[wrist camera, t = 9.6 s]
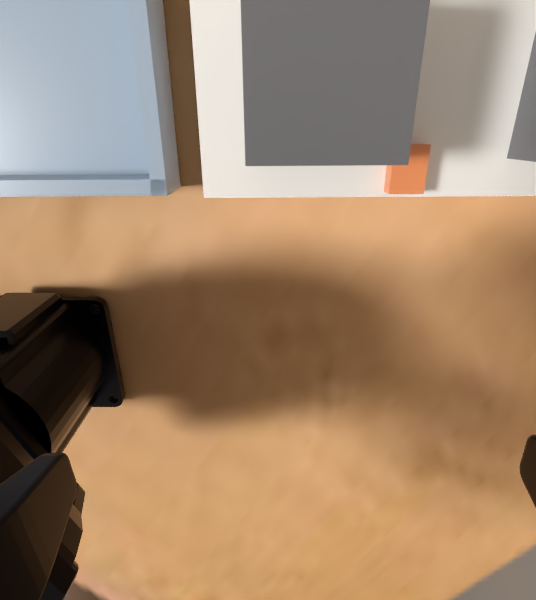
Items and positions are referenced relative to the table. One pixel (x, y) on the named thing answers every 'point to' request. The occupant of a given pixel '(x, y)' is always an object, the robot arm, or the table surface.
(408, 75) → the grey block with knob
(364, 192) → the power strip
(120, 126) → the tray
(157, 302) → the table surface
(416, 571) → the table surface
